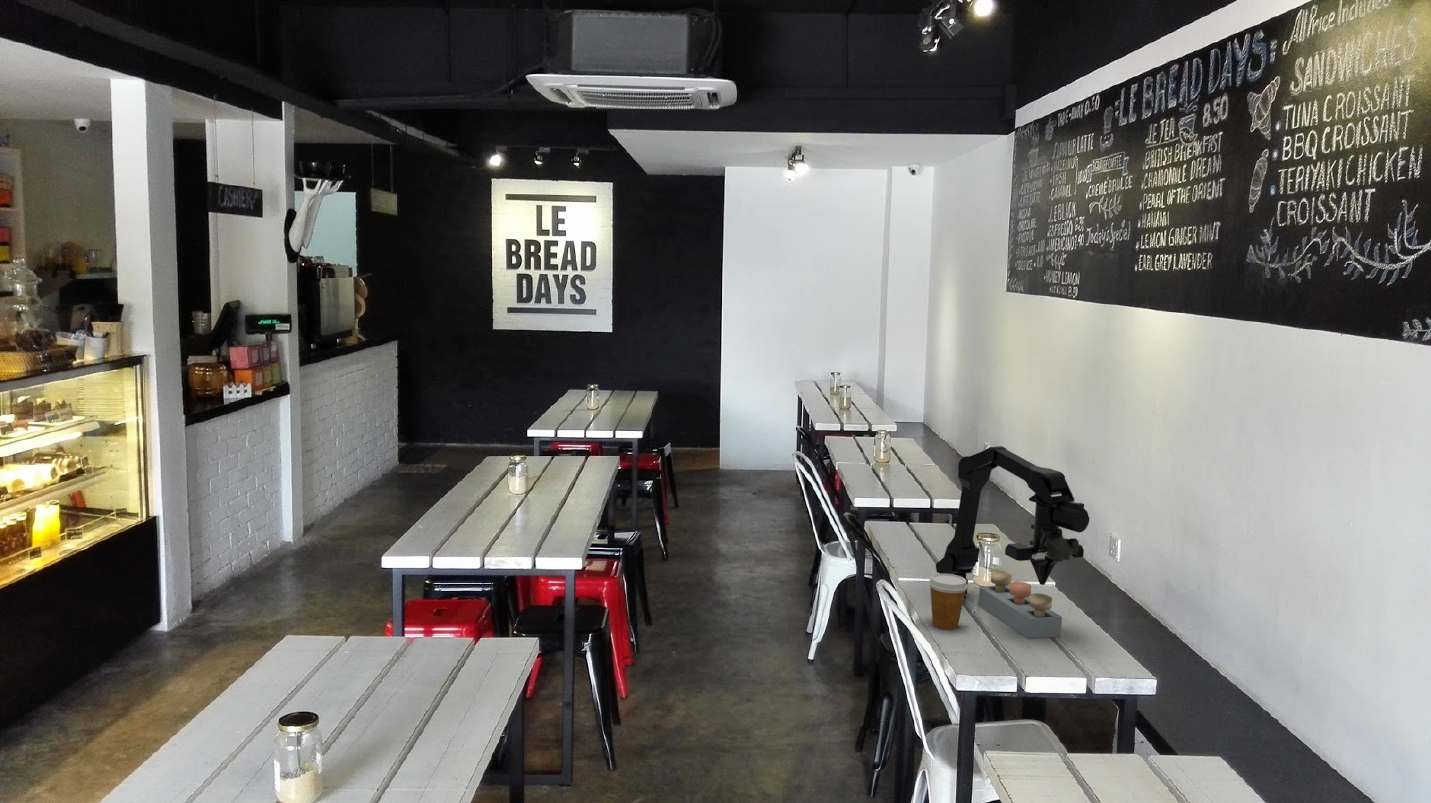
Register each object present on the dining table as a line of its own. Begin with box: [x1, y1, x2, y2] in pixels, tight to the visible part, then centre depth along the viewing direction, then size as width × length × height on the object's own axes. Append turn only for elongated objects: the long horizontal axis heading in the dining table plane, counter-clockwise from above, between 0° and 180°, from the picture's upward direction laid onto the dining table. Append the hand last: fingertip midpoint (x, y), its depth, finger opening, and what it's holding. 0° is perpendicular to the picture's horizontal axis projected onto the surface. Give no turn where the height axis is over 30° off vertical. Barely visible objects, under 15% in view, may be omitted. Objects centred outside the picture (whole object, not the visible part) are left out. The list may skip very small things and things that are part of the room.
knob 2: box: [1029, 592, 1053, 618], centre depth 251 cm, size 5×5×7 cm
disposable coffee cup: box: [928, 573, 969, 630], centre depth 254 cm, size 10×10×12 cm
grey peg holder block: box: [977, 585, 1063, 640], centre depth 260 cm, size 9×24×5 cm, turn 15°
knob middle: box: [1009, 580, 1032, 605], centre depth 259 cm, size 5×5×7 cm
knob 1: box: [990, 569, 1013, 593], centre depth 268 cm, size 5×5×7 cm
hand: (1042, 584), depth 250 cm, fingers closed
